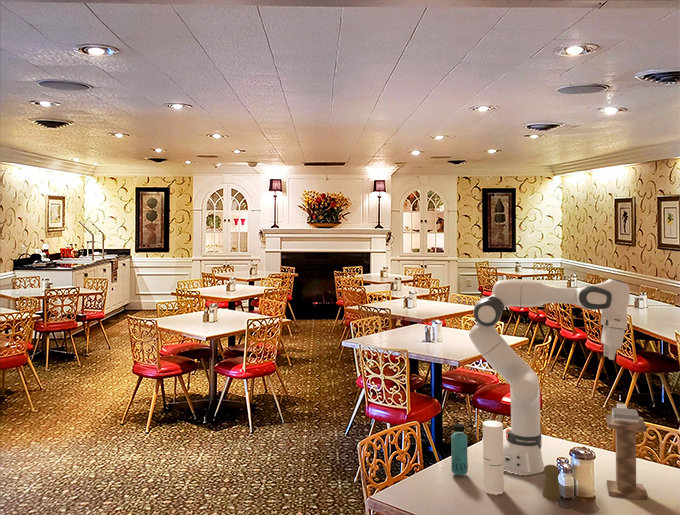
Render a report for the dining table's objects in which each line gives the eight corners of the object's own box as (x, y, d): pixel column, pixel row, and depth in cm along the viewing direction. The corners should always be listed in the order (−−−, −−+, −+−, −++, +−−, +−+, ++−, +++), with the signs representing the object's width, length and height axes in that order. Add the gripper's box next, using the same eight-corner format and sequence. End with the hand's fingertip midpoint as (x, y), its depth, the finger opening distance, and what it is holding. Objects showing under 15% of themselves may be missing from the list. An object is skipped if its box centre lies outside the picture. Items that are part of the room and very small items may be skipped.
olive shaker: (562, 500, 200) (562, 469, 200) (544, 499, 201) (543, 468, 201) (559, 493, 206) (559, 463, 205) (541, 492, 207) (541, 462, 207)
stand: (609, 496, 202) (608, 424, 201) (606, 482, 213) (605, 414, 213) (647, 501, 198) (646, 427, 197) (642, 487, 209) (641, 417, 208)
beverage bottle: (449, 477, 221) (448, 426, 221) (453, 471, 227) (452, 421, 227) (466, 479, 219) (465, 428, 218) (469, 473, 225) (468, 423, 224)
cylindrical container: (490, 485, 214) (489, 419, 213) (507, 490, 209) (506, 423, 208) (480, 491, 209) (478, 423, 208) (497, 497, 204) (496, 428, 203)
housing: (613, 422, 203) (613, 413, 203) (609, 407, 220) (609, 400, 220) (639, 424, 201) (638, 415, 200) (632, 409, 217) (632, 401, 217)
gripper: (599, 319, 228) (595, 353, 228) (609, 322, 208) (604, 359, 208) (616, 321, 226) (612, 356, 226) (628, 325, 207) (623, 362, 207)
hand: (608, 357), depth 217 cm, fingers open, 8 cm apart
